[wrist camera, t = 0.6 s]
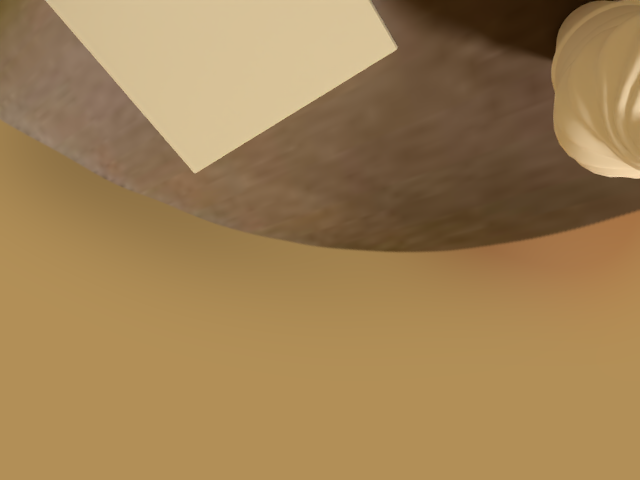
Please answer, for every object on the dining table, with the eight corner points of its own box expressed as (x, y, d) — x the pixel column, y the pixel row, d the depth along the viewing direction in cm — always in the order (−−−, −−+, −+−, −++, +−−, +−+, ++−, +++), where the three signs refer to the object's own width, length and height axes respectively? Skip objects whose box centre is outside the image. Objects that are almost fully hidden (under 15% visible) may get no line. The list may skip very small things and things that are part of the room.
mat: (40, -14, 38) (35, -12, 38) (240, -226, 29) (237, -227, 29) (197, 170, 46) (194, 173, 45) (397, 46, 36) (397, 49, 36)
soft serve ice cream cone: (544, -42, 32) (615, 32, 19) (690, -33, 31) (865, 51, 18) (510, 91, 37) (548, 217, 24) (634, 103, 36) (741, 241, 23)
